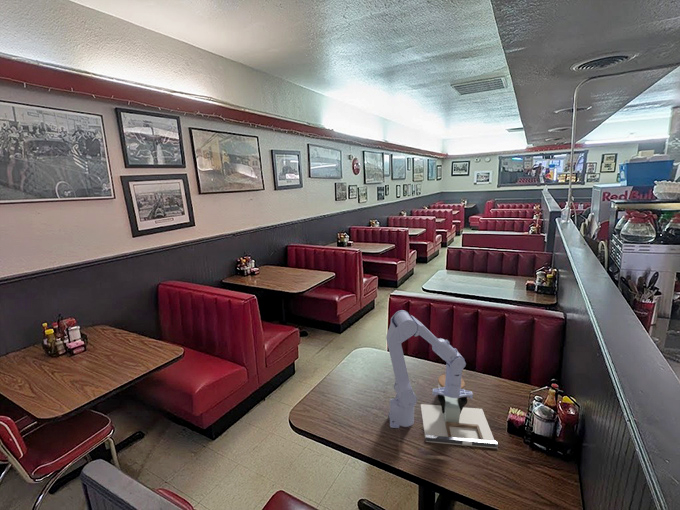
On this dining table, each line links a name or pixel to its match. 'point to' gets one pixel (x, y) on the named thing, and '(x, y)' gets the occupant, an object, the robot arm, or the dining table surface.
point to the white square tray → (457, 427)
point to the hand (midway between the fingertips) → (450, 412)
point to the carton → (451, 410)
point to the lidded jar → (442, 382)
